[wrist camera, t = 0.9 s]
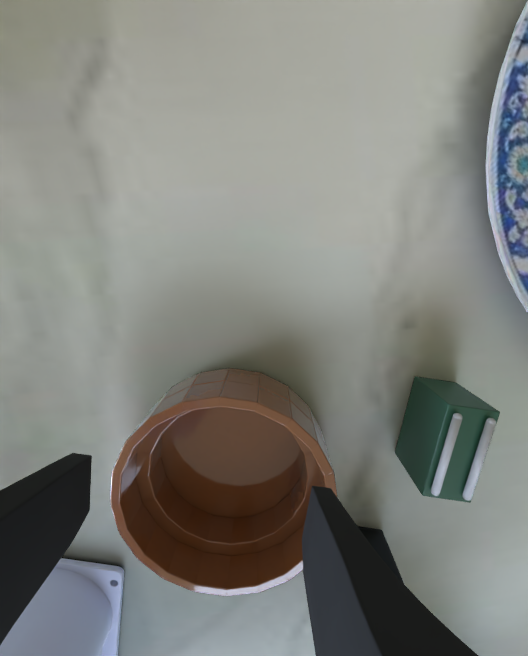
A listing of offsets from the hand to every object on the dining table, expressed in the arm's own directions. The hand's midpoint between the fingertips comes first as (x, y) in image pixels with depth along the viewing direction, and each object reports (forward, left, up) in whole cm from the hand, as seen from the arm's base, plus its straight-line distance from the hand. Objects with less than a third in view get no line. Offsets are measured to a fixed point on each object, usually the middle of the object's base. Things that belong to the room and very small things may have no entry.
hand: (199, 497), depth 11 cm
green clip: (0, -12, -9) cm, 15 cm away
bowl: (-4, -1, -9) cm, 10 cm away
